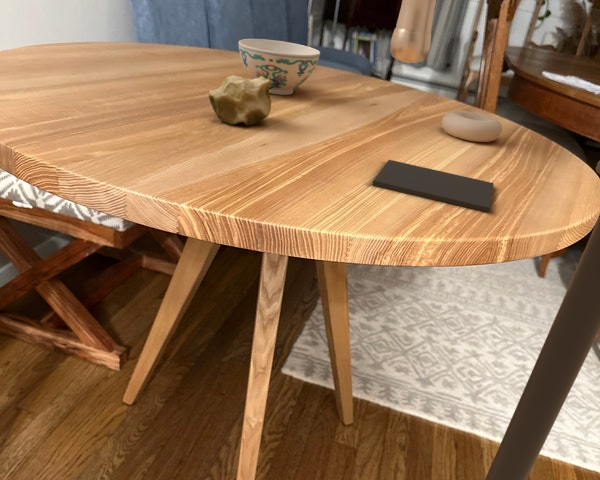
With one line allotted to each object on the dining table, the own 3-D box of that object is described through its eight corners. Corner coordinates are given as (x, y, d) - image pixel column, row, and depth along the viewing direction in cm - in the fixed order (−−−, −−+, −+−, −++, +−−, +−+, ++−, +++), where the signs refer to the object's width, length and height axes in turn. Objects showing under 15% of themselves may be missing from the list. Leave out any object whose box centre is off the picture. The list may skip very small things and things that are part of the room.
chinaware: (328, 94, 110) (334, 52, 106) (287, 104, 99) (293, 57, 95) (264, 78, 116) (268, 37, 112) (219, 85, 105) (221, 40, 101)
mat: (492, 187, 74) (493, 183, 73) (489, 212, 65) (490, 207, 65) (387, 163, 77) (388, 159, 76) (371, 185, 68) (372, 180, 68)
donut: (431, 134, 94) (490, 148, 90) (436, 113, 93) (496, 126, 89) (450, 125, 102) (505, 138, 98) (455, 105, 100) (511, 117, 96)
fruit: (272, 126, 90) (286, 77, 85) (252, 145, 83) (266, 92, 78) (220, 104, 91) (230, 54, 86) (195, 121, 83) (205, 67, 78)
